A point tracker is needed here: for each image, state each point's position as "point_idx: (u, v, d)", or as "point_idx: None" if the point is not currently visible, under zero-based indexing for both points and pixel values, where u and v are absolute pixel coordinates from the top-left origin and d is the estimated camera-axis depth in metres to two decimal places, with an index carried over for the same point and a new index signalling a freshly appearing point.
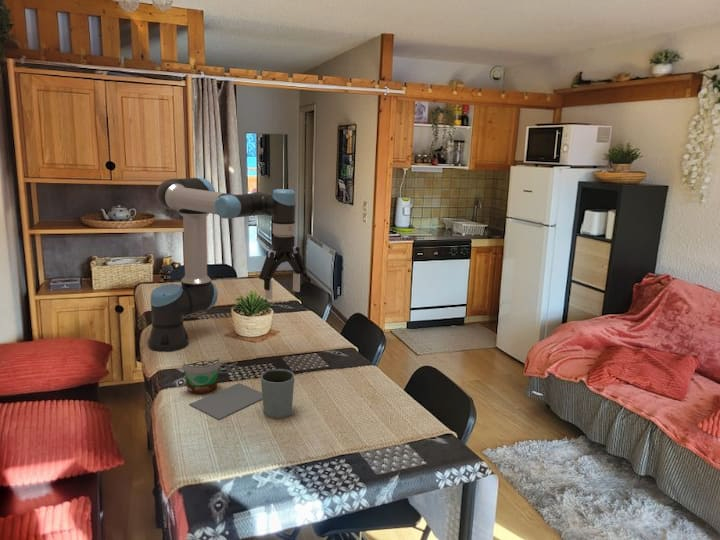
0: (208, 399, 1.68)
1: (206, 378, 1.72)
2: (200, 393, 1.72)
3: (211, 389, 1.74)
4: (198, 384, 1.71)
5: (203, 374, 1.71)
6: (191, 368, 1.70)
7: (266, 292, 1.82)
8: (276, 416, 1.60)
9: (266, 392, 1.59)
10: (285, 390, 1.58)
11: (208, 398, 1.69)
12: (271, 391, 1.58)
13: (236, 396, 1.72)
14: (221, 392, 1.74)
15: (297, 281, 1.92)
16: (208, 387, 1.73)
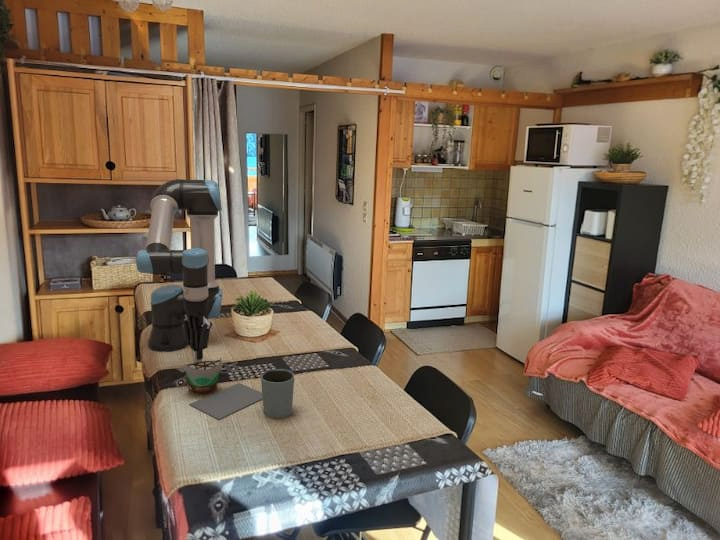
0: (208, 399, 1.68)
1: (207, 379, 1.71)
2: (200, 393, 1.72)
3: (211, 389, 1.74)
4: (199, 384, 1.71)
5: (204, 376, 1.70)
6: (192, 370, 1.68)
7: None
8: (276, 416, 1.60)
9: (266, 392, 1.59)
10: (285, 390, 1.58)
11: (208, 398, 1.69)
12: (271, 391, 1.58)
13: (236, 396, 1.72)
14: (221, 392, 1.74)
15: None
16: (208, 388, 1.73)
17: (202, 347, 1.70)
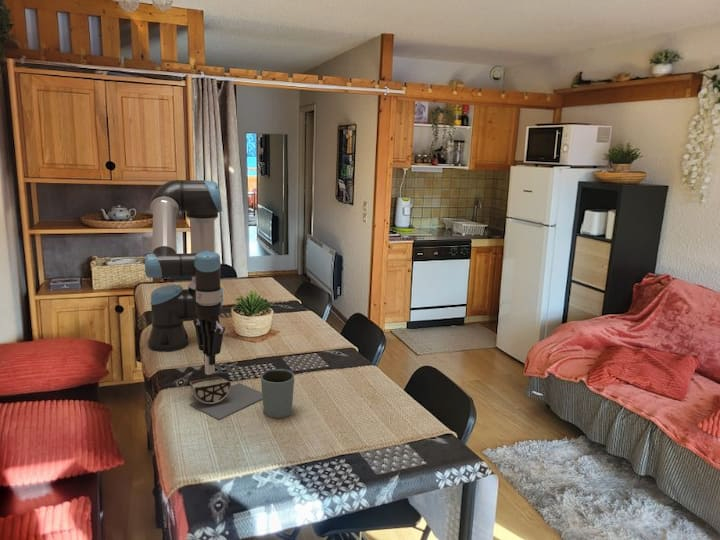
0: None
1: None
2: None
3: None
4: None
5: None
6: (200, 400, 1.63)
7: None
8: (276, 416, 1.60)
9: (266, 392, 1.59)
10: (285, 390, 1.58)
11: None
12: (271, 391, 1.58)
13: (236, 396, 1.72)
14: None
15: None
16: None
17: (215, 352, 1.67)
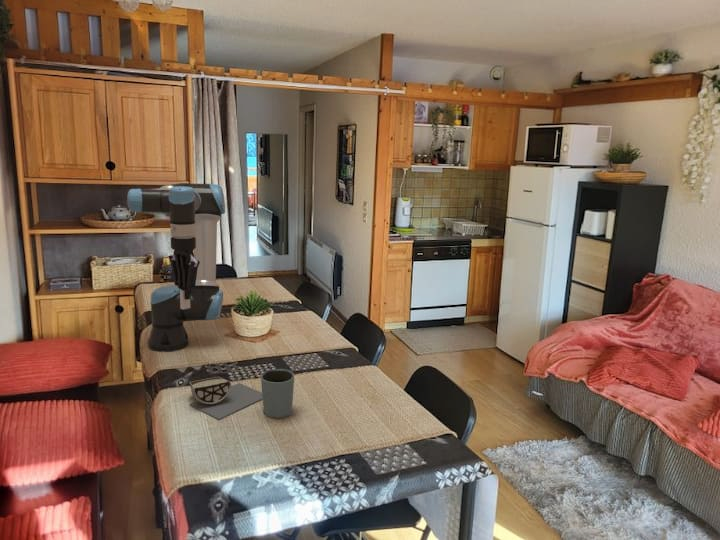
0: None
1: None
2: None
3: None
4: None
5: None
6: (200, 401, 1.63)
7: None
8: (276, 416, 1.60)
9: (266, 392, 1.59)
10: (285, 390, 1.58)
11: None
12: (271, 391, 1.58)
13: (236, 396, 1.72)
14: None
15: None
16: None
17: (190, 286, 1.69)
